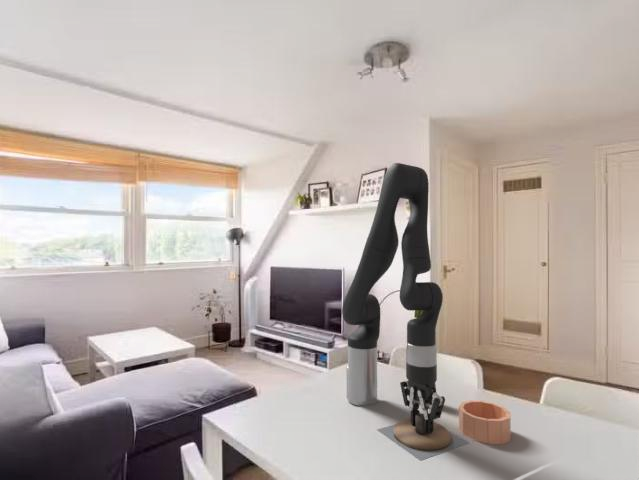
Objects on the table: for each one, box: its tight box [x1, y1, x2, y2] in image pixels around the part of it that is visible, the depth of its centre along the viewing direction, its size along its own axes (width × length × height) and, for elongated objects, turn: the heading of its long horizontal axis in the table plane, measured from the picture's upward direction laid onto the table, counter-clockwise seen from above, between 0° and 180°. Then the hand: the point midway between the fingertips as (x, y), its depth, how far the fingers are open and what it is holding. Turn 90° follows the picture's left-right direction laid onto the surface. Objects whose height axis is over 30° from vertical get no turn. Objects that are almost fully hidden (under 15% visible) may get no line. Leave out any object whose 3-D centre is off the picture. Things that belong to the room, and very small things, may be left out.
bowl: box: [458, 399, 512, 445], centre depth 96 cm, size 12×12×6 cm
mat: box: [376, 423, 470, 462], centre depth 94 cm, size 16×16×1 cm
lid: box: [393, 412, 451, 451], centre depth 94 cm, size 14×14×5 cm
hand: (421, 428), depth 94 cm, fingers open, 4 cm apart
